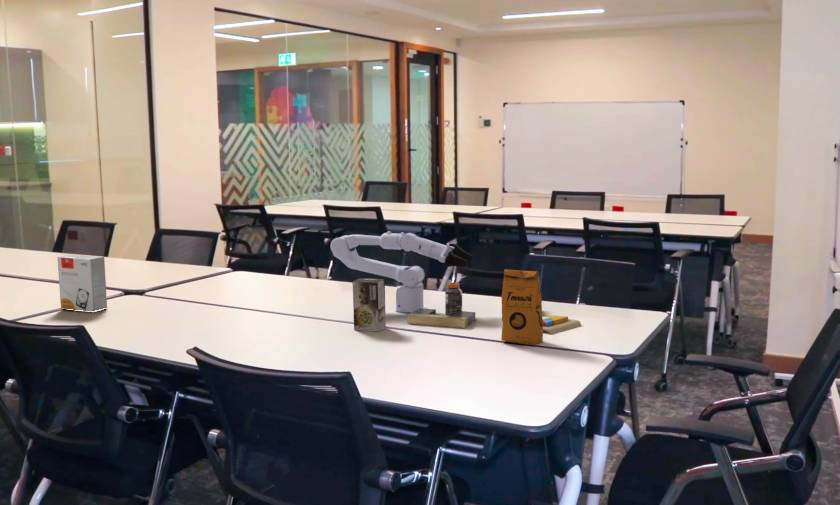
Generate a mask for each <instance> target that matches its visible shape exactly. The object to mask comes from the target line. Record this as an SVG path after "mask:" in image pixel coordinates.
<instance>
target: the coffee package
mask: <svg viewBox="0 0 840 505" xmlns="http://www.w3.org/2000/svg"><path fill="white" fill-rule="evenodd" d="M539 275H540V274H539V271H538V270H537V271H533V270H516V269H504V272H503V282H502V292H501V315H502V316H501V321H502V326H501V327H502V329H501V341H502V342H508V343H514V344H520V345H530V346H538V345H539V344H540V343H543V342H544V339H543V338H544V336H543V335H544V331H543V319H542V314H543V304H542V303H543V301H542V300H543V299H542V293H541V284H540V283H541V282H540V281H541V280H540V277H539Z"/></svg>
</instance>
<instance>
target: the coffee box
mask: <svg viewBox="0 0 840 505" xmlns="http://www.w3.org/2000/svg"><path fill="white" fill-rule="evenodd" d="M385 280H386V279H385V278H384V279H383V278H358V279H355V280H353V281H351V282H352V299H353V300H352V301H353V303H352V304H353V306H352V307H353V330H354V329H356V330H355V331H365V330H367V331H368V332H380V331H383V330H384V329H385V328H386V326H387V324H386V323H387V322H386V320H387V319H386V284H385Z"/></svg>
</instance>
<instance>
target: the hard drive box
mask: <svg viewBox="0 0 840 505" xmlns="http://www.w3.org/2000/svg"><path fill="white" fill-rule="evenodd" d="M57 266H58V284H59V286H58V287H59V300H60V309H61V308H66V309H73V310H83V311H95V310H99V309H103V308H107V309H108V301H107V300H108V298H107V283H106V281H107V280H106V266H105V257H104V256H101V255H100V256H97V255H87V254H85V255H83V254H68V255H67V254H66V255H61V256H57Z"/></svg>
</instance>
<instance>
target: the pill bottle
mask: <svg viewBox="0 0 840 505" xmlns="http://www.w3.org/2000/svg"><path fill="white" fill-rule="evenodd" d="M444 295H445V296H444V303H445V304H444V305H445V316H452V315H453V314H455V313H457V312H458V311H463V290H462V289H461V288H460V283H459V282H448V283H447V289H445V294H444Z"/></svg>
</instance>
